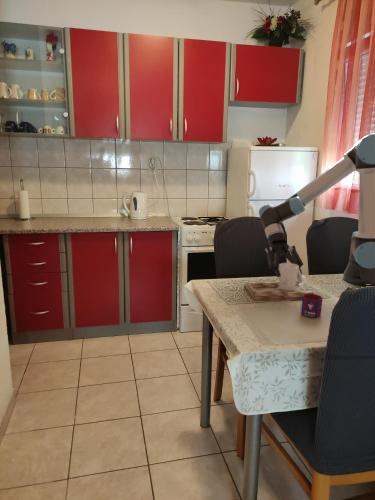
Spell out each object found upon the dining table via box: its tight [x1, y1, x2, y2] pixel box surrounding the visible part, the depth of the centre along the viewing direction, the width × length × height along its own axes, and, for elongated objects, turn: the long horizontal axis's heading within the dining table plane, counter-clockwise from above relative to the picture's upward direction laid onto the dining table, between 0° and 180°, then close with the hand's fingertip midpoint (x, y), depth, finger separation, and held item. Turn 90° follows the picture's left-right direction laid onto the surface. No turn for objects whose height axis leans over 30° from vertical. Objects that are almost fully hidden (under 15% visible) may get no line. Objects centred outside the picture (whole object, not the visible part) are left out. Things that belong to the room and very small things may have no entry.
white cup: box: [278, 262, 299, 291], centre depth 151 cm, size 8×8×10 cm
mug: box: [300, 292, 323, 319], centre depth 130 cm, size 7×10×7 cm
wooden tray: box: [243, 280, 314, 301], centre depth 152 cm, size 24×17×3 cm
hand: (292, 282), depth 148 cm, fingers closed on white cup, 8 cm apart
